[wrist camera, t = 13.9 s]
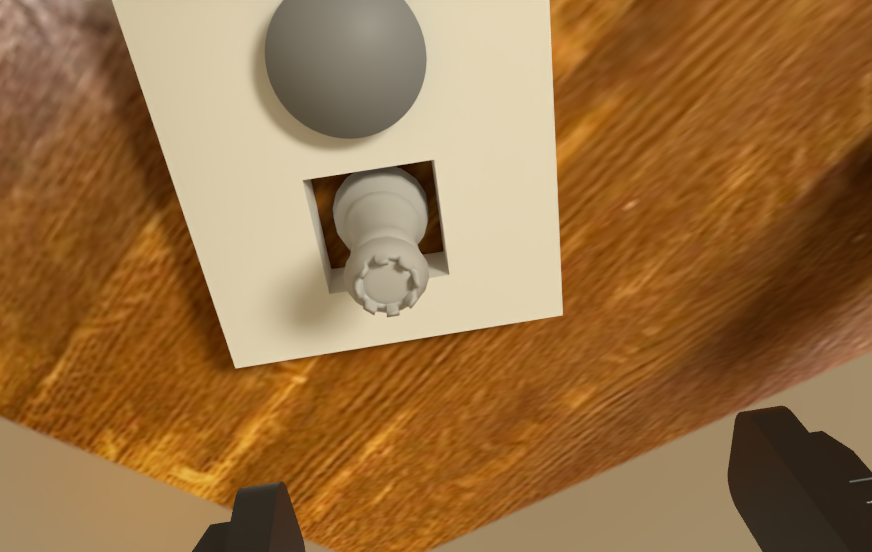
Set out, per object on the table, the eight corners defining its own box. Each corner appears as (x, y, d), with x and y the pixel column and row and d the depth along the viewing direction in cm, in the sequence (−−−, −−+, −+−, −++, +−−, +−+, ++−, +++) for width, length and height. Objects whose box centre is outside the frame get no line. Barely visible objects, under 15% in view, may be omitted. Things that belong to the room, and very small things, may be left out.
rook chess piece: (379, 265, 33) (386, 359, 26) (312, 205, 32) (300, 288, 25) (447, 207, 32) (472, 288, 25) (381, 140, 30) (389, 208, 23)
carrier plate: (119, -46, 26) (87, -40, 23) (529, -106, 26) (551, -108, 23) (243, 339, 35) (231, 381, 32) (550, 290, 35) (568, 326, 32)
